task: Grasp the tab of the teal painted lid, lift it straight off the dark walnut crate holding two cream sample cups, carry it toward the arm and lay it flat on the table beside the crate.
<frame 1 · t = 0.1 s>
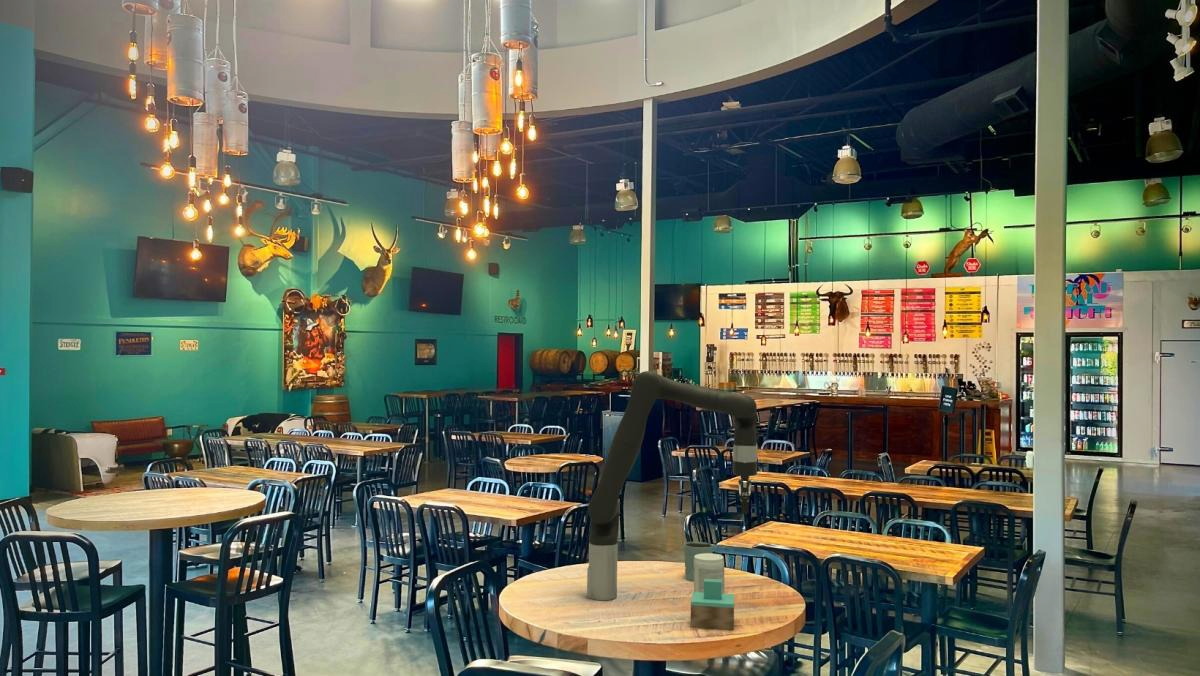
hand: (744, 511, 259), 29 cm above the table, fingers open, 8 cm apart
cup b: (721, 623, 237), point 1 cm above the table, touching crate
cup a: (703, 622, 238), point 1 cm above the table, touching crate
lid: (712, 605, 238), point 6 cm above the table, touching crate
supplement tub: (708, 603, 260), on the table
crate: (712, 625, 238), on the table
drinking glass: (698, 579, 290), on the table
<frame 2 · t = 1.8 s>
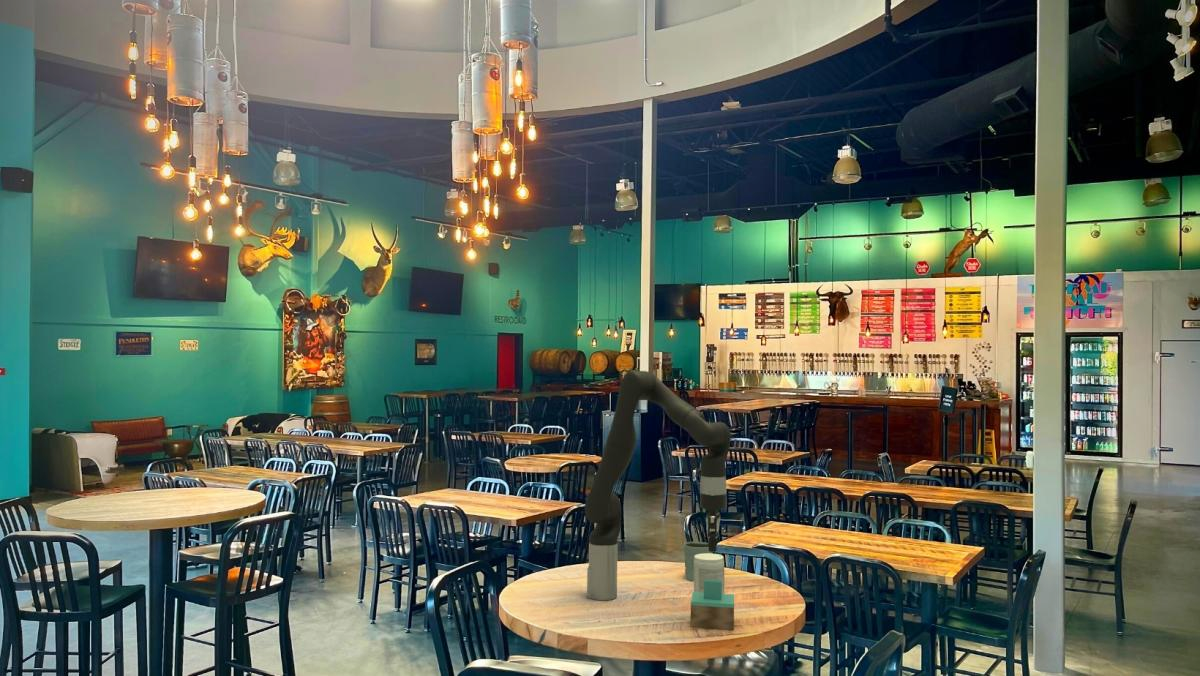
hand: (713, 548, 238), 22 cm above the table, fingers open, 8 cm apart
nothing on the table moved.
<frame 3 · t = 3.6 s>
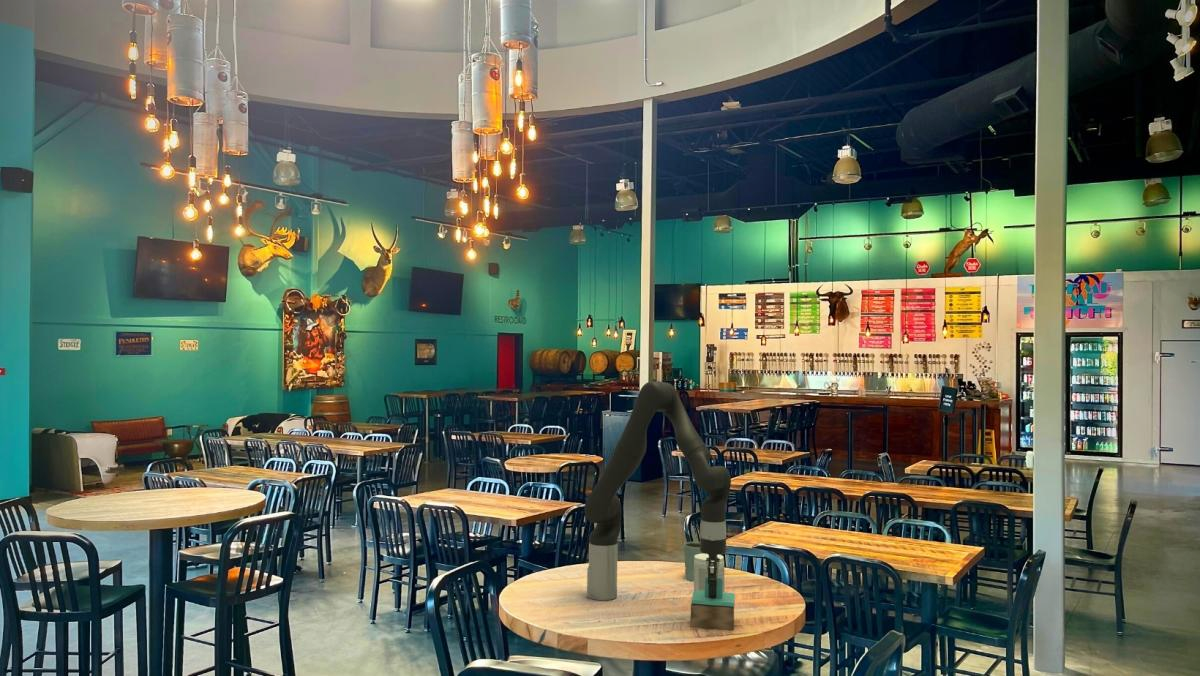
hand: (712, 595, 238), 9 cm above the table, fingers closed on lid, 3 cm apart
lid: (713, 604, 238), point 6 cm above the table, touching gripper
everything else where it was.
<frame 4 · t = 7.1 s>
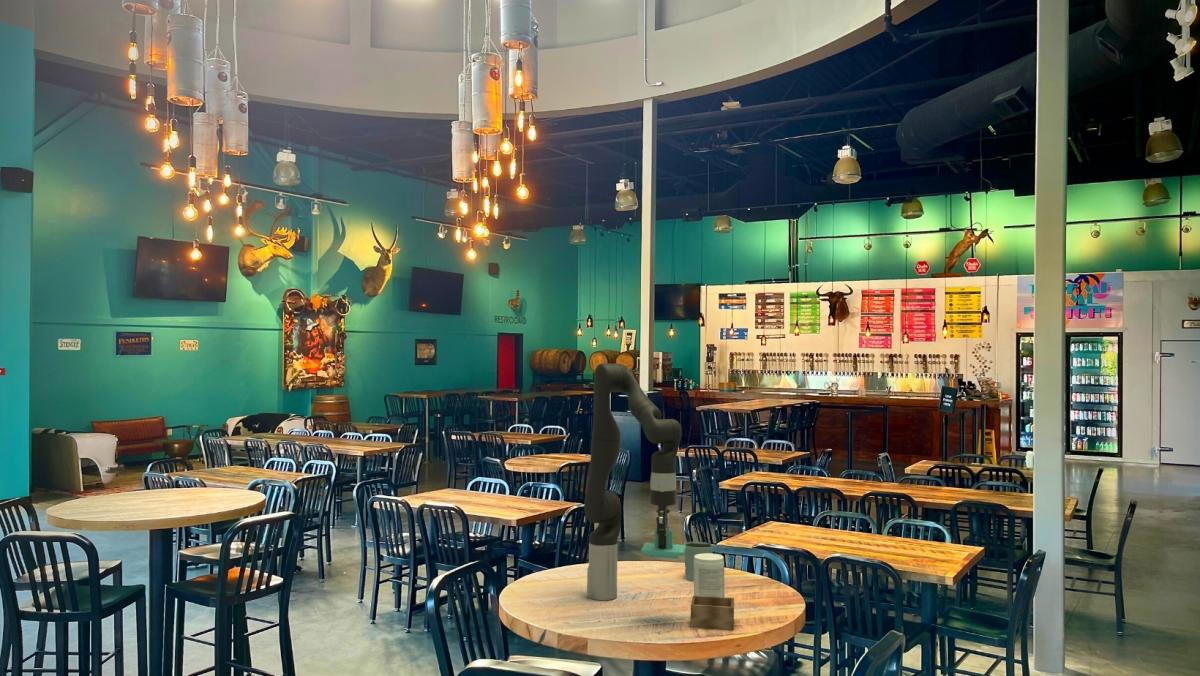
hand: (662, 547, 240), 22 cm above the table, fingers closed on lid, 3 cm apart
lid: (663, 555, 240), point 20 cm above the table, touching gripper
everything else where it was.
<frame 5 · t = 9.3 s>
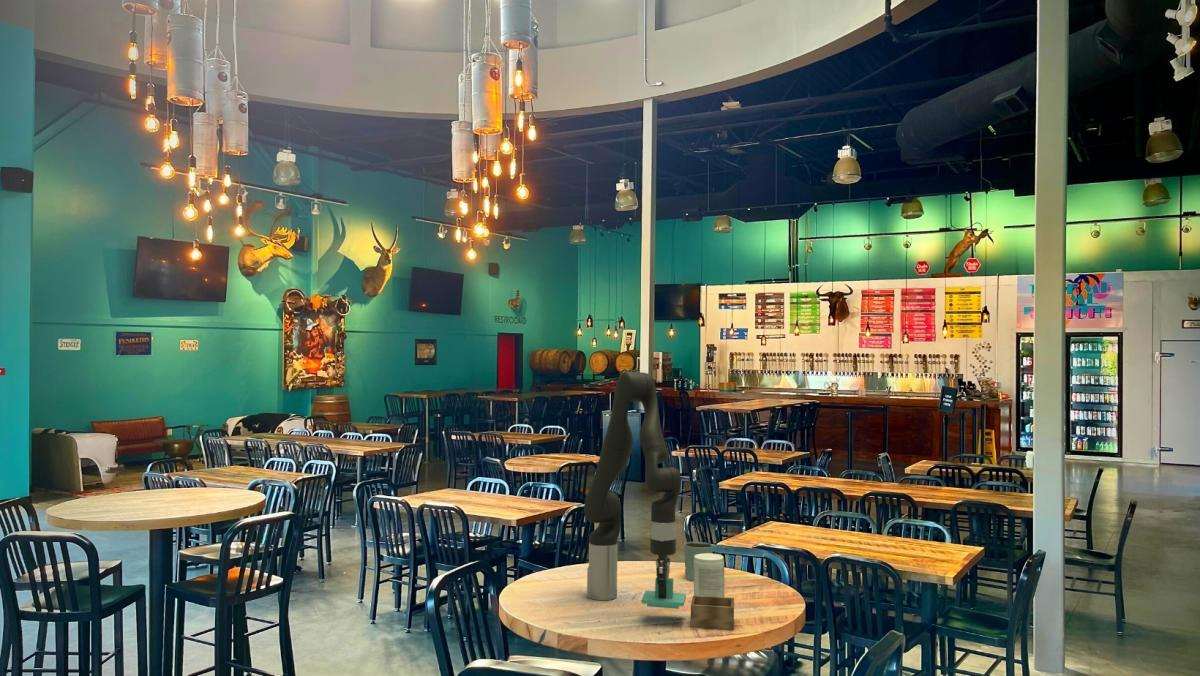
hand: (662, 596, 240), 8 cm above the table, fingers closed on lid, 3 cm apart
lid: (663, 604, 240), point 5 cm above the table, touching gripper
everything else where it was.
when the fingers open (5 cm above the table, at t = 10.8 s): lid drops 3 cm, on the table.
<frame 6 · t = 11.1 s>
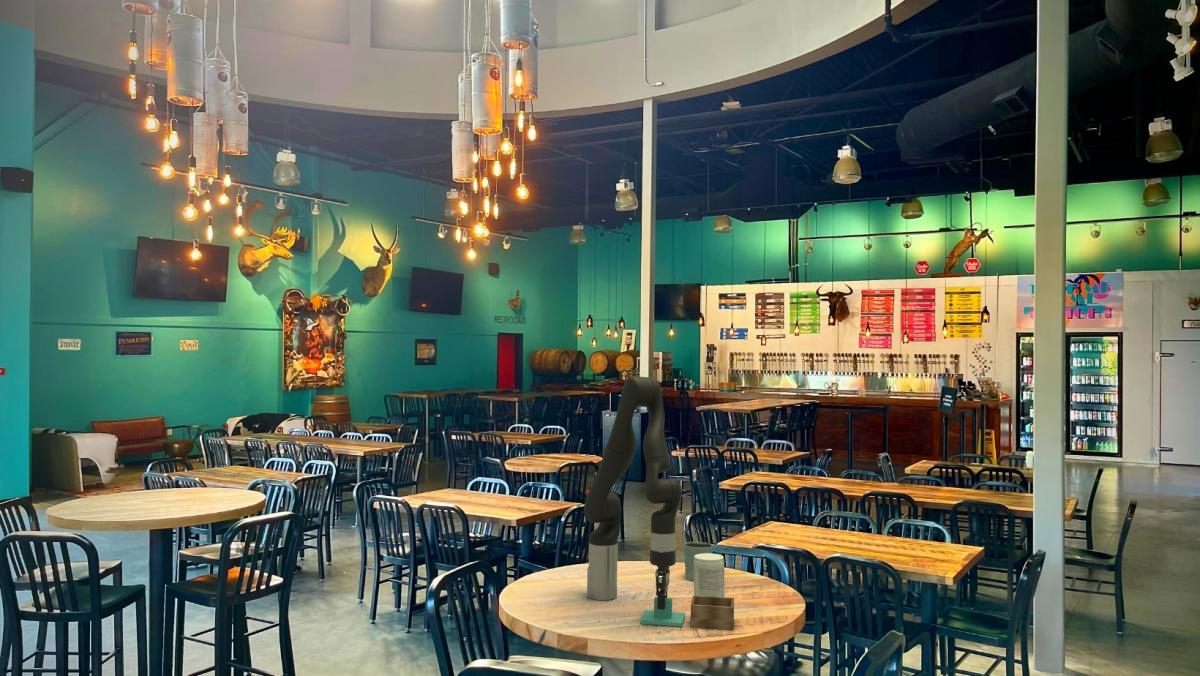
hand: (662, 605, 240), 5 cm above the table, fingers open, 5 cm apart
lid: (662, 624, 240), on the table
everything else where it was.
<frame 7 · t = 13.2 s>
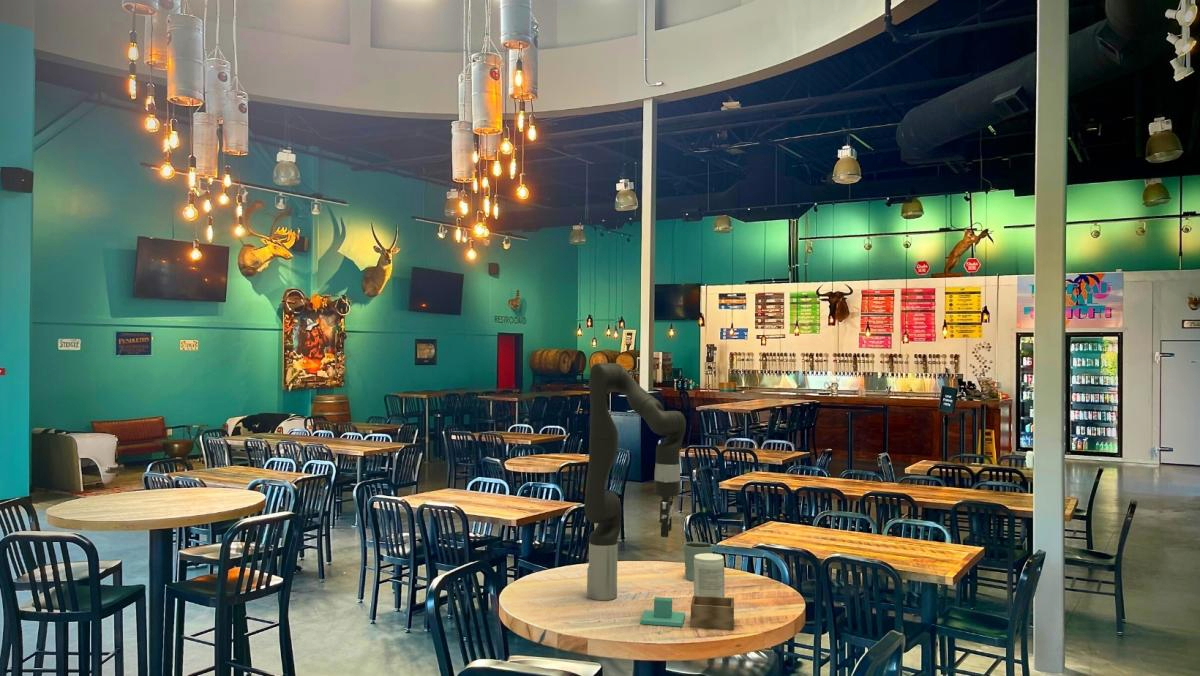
hand: (666, 533, 243), 25 cm above the table, fingers open, 8 cm apart
nothing on the table moved.
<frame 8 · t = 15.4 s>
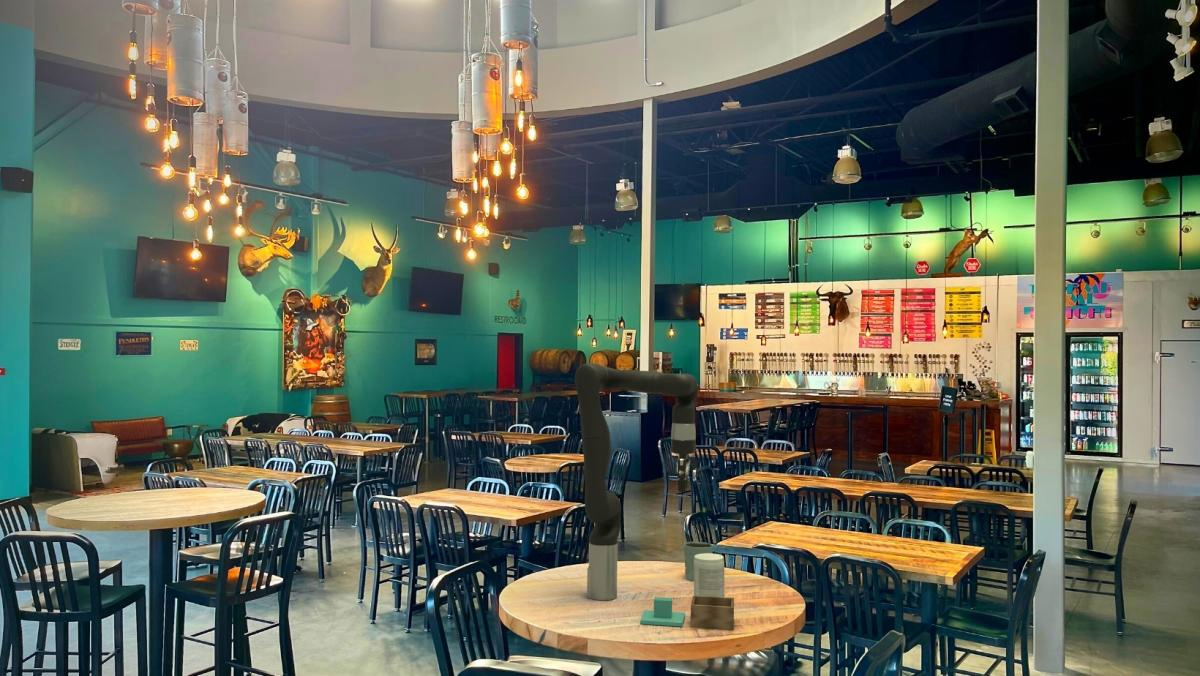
hand: (683, 490, 257), 36 cm above the table, fingers open, 8 cm apart
nothing on the table moved.
at the end: lid inside the target area (0.2 cm from its centre), on the table; lid tilted 0°; the gripper is holding nothing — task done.
